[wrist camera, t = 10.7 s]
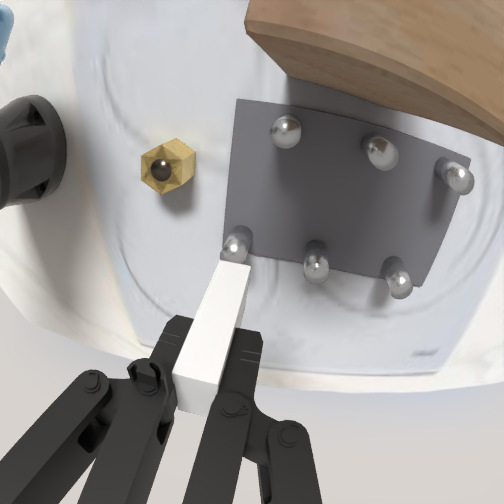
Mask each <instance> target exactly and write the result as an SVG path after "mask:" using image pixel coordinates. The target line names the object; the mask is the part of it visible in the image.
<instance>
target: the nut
mask: <svg viewBox="0 0 504 504" xmlns="http://www.w3.org/2000/svg"><path fill="white" fill-rule="evenodd" d="M195 154H196V152H195V151H194V150H192V149H191V148H190V147H188V146H187V145H186V144H184V143H183V142H181V141H180V140H179V139H177V138H175V139H173V140H171V141H169V142H166V143H164V144H162V145H160V146H158V147H156V148H154V149H152V150H151V151H149V152H147V153H145V154H143V155H142V156H141V180H142V181H143V182H144V183H146V184H147V185H148V186H150V187H151V188H152V189H154V190H155V191H156V192H158V193H159V194H160V195H162V194H164V193H166V192H168V191H171V190H173V189H175V188H178V187H180V186H182V185H183V184H184V183H185V182H187V181H188V180H189V179H190V178H191V177H193V176H194V170H195Z"/></svg>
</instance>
